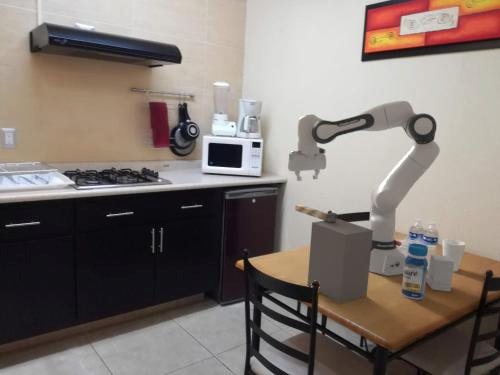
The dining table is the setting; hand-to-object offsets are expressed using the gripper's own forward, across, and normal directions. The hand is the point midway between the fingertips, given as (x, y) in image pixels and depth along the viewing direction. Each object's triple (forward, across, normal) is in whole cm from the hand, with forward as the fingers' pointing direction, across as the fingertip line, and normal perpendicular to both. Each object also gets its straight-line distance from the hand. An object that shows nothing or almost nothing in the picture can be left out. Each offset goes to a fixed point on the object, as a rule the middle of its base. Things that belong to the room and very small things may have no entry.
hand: (307, 180), depth 183 cm
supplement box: (+43, +28, -49) cm, 71 cm away
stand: (+40, -13, -34) cm, 54 cm away
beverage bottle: (+42, +11, -50) cm, 66 cm away
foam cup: (+43, +53, -39) cm, 78 cm away
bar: (+13, -13, -20) cm, 27 cm away
